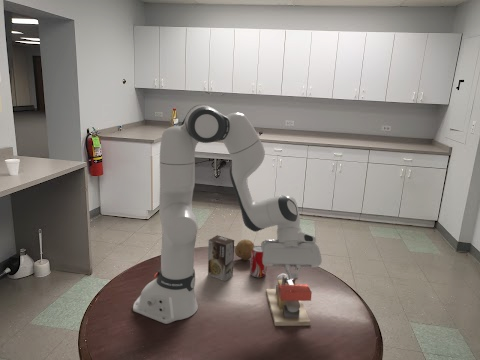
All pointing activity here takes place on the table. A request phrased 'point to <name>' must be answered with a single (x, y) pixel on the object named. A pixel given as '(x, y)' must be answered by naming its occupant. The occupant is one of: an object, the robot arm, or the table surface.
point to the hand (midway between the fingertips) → (293, 279)
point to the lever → (294, 292)
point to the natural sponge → (244, 249)
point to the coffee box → (220, 257)
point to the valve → (286, 307)
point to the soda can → (257, 262)
